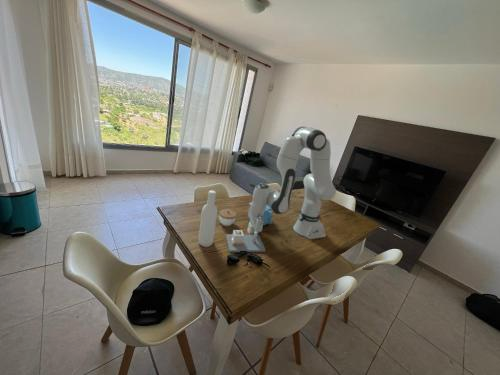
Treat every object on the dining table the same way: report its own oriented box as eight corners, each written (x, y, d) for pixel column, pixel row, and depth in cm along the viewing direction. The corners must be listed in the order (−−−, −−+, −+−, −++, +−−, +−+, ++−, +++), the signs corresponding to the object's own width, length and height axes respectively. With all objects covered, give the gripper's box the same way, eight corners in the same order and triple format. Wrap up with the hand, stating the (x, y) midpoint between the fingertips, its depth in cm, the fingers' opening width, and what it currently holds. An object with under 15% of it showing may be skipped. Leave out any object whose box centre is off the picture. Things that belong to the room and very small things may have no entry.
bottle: (194, 242, 108) (200, 191, 97) (203, 235, 115) (210, 187, 104) (207, 249, 106) (214, 196, 95) (215, 241, 112) (223, 192, 102)
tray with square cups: (258, 236, 125) (260, 225, 122) (265, 251, 112) (268, 240, 110) (225, 235, 119) (227, 224, 116) (229, 252, 107) (231, 240, 104)
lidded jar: (214, 223, 129) (216, 210, 125) (224, 217, 138) (226, 204, 134) (228, 230, 125) (230, 217, 121) (237, 223, 134) (240, 211, 130)
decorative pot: (271, 230, 134) (276, 212, 129) (246, 225, 133) (251, 207, 128) (268, 217, 150) (273, 200, 145) (247, 213, 148) (250, 196, 143)
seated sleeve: (240, 238, 117) (242, 229, 115) (242, 245, 112) (244, 236, 110) (230, 238, 116) (232, 229, 113) (232, 245, 110) (234, 236, 108)
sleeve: (255, 229, 131) (257, 221, 129) (257, 235, 126) (259, 226, 124) (246, 229, 129) (248, 221, 127) (248, 235, 124) (250, 226, 122)
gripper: (267, 219, 113) (262, 240, 118) (257, 202, 132) (253, 220, 137) (256, 219, 112) (251, 239, 117) (248, 201, 130) (244, 220, 135)
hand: (252, 229), depth 127 cm, fingers closed on sleeve, 5 cm apart
